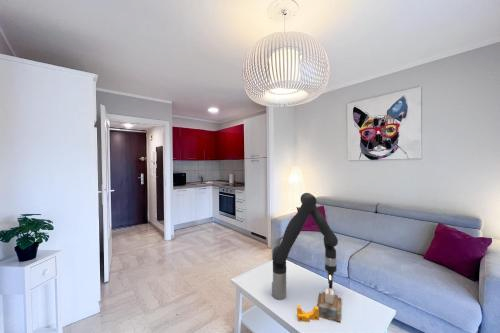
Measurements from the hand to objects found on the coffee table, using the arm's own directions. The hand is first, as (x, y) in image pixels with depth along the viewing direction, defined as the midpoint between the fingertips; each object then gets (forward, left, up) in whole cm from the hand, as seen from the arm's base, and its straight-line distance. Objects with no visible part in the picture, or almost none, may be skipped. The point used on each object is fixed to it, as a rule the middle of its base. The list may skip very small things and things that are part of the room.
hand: (330, 288), depth 146 cm
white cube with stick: (0, -8, -4) cm, 9 cm away
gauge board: (0, -13, -5) cm, 14 cm away
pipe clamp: (-11, -28, -6) cm, 31 cm away
